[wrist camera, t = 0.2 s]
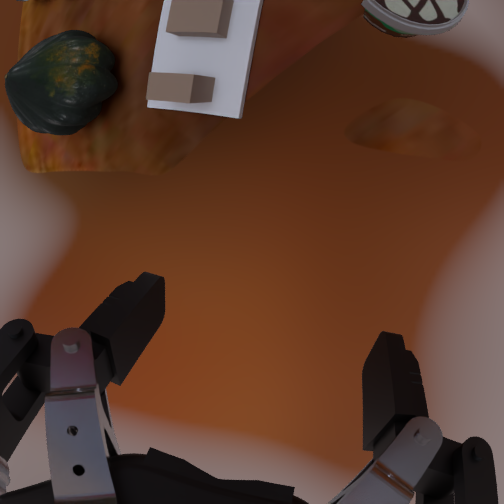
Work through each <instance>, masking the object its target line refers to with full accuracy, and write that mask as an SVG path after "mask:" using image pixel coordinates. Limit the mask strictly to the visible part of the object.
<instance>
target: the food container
mask: <svg viewBox="0 0 504 504" xmlns="http://www.w3.org/2000/svg"><path fill="white" fill-rule="evenodd" d="M468 3H469V0H364V1H363V2H362V3H361V5H362V6H363V7H365V12H364V18H365V19H366V20H367V21H368V22H369V23H370V24H371V25H372V26H374V27H375V28H377V29H378V30H380V31H381V32H384V33H386V34H389V35H392V36H394V37H405V38H407V37H412V36H416V35H435V34H440V33H444V32H446V31H449V30H450V29H452V28H453V27H455V26H456V25H457V24H458V22H460V21H461V19H462V17H463V16H464V14H465V12H466V10H467V7H468Z"/></svg>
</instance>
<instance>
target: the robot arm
mask: <svg viewBox="0 0 504 504" xmlns="http://www.w3.org/2000/svg"><path fill="white" fill-rule="evenodd" d="M164 315H165V280H164V277H162V276H158V275H154V274H151V273H148V272H143V273H142V274H141V275H140V276H139V277H138V278H137V279H136V280H135V281H134V282H131V281H128V282H126V283H124V284H122V285H120V286H118V287H116V288H115V290H114V291H113V292H112V293H111V294H110V295H109V297H107V298H106V299H105V300H104V301H103V303H102V304H100V305H99V306H98V307H97V308H96V310H95V311H94V312H93V313H92V314H91V315H90V316H89V317H88V318H87V319H86V320H85V321H84V323H83V324H82V325H81V326H80V327H79V328H67V329H64V330H62V331H60V332H58V333H57V334H56V335H55V336H51V335H44V334H39V333H35V331H34V328H33V326H32V324H31V323H30V322H29V321H27V320H25V319H15V320H12V321H9V322H8V323H6V324H5V325H4V326H3V327H2V328H1V329H0V504H308V503H307V502H306V501H304V500H302V499H300V498H298V497H296V496H294V495H293V493H294V488H295V487H291V486H285V485H280V484H274V483H269V482H264V481H259V480H222V479H217V478H215V477H213V476H211V475H209V474H208V473H206V472H204V471H202V470H200V469H199V468H197V467H195V466H194V465H192V464H190V463H189V462H187V461H185V460H184V459H181V458H178V457H175V456H172V455H169V454H167V453H164V452H161V451H159V450H156V449H154V448H151V447H150V449H149V451H148V453H147V455H146V454H122V455H121V453H120V449H119V446H118V443H117V440H116V437H115V433H114V428H113V424H112V419H111V414H110V409H109V403H108V398H107V392H106V387H107V385H108V384H109V382H110V381H111V382H113V383H115V384H118V385H121V384H122V382H123V381H124V379H125V378H126V376H127V375H128V373H129V372H130V370H131V369H132V367H133V366H134V364H135V362H136V361H137V360H138V358H139V356H140V355H141V353H142V352H143V351H144V349H145V347H146V346H147V344H148V343H149V342H150V340H151V339H152V337H153V336H154V334H155V333H156V331H157V329H158V328H159V327H160V325H161V323H162V321H163V318H164ZM16 373H17V375H18V376H17V377H16V378H15V380H14V381H13V382H12V384H11V385H10V386H9V388H8V389H7V390H6V392H5V393H4V394H3V396H2V393H3V390H4V389H5V387H6V386H7V384H8V383H9V382H10V380H11V379H12V378H13V377H14V375H15V374H16ZM362 389H363V450H366V451H373V459H372V460H371V461H370V462H369V463H368V464H367V465H366V466H365V467H364V468H363V469H362V470H361V471H360V472H359V474H358V475H357V476H356V477H355V478H354V479H353V480H352V481H351V482H350V483H349V484H348V485H347V486H346V487H345V488H344V489H343V490H342V491H341V492H340V493H339V494H338V495H337V496H335V497H334V498H333V499H332V500H331V501H330V502H328V504H409V503H410V501H411V500H412V498H413V496H414V492H413V491H415V492H416V504H498V494H497V484H496V475H495V467H494V460H493V453H492V450H491V447H490V446H489V444H488V443H487V442H486V441H485V440H484V439H482V438H480V437H470V438H468V439H467V440H466V441H465V442H464V443H462V444H461V443H458V442H456V441H453V440H450V439H447V438H445V437H443V436H442V432H441V429H440V427H439V426H438V425H437V424H436V423H435V422H434V421H433V420H431V419H429V416H428V410H427V404H426V398H425V393H424V388H423V385H422V378H421V375H420V369H419V364H418V361H417V359H416V358H415V356H414V355H413V353H412V352H411V351H409V350H406V349H405V345H404V340H403V337H402V335H400V334H395V333H389V332H385V331H382V332H381V333H380V334H379V336H378V338H377V340H376V342H375V344H374V346H373V348H372V349H371V351H370V353H369V355H368V357H367V359H366V361H365V363H364V367H363V371H362ZM44 403H45V424H46V438H47V449H48V458H49V466H50V474H51V480H47V481H44V482H41V483H38V484H35V485H32V486H29V487H25V488H22V489H18V490H15V491H11V492H7V493H6V486H8V485H9V483H10V477H9V467H8V464H7V462H8V460H9V458H10V457H11V455H12V453H13V452H14V450H15V448H16V446H17V445H18V443H19V442H20V440H21V439H22V437H23V435H24V434H25V432H26V430H27V429H28V427H29V426H30V424H31V422H32V421H33V419H34V418H35V416H36V415H37V413H38V411H39V410H40V409H41V407H42V406H43V404H44Z"/></svg>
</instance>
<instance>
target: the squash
mask: <svg viewBox="0 0 504 504" xmlns="http://www.w3.org/2000/svg"><path fill="white" fill-rule="evenodd" d="M114 63H115V57H114V55H113V53H112V52H111V51H110V50H109V48H108V47H107V46H106V45H104V44H103V43H101V42H99V41H97V40H96V39H95V37H94V36H92V35H91V34H89V33H87V32H84V31H79V30H69V31H65V32H62V33H60V34H57V35H54V36H51V37H49V38H47V39H45V40H43V41H41V42H40V43H38V44H37V45H35V46H34V47H33V48H32V49H30V50H29V51H28V52H27V53H26V54H25V55H24V56H23V57H22V58H21V60H20V61H19V62H18V63H17V64H15V65H14V66H13V67H12V68H11V69H10V70H9V72H8V73H7V74H6V75H5V88H6V92H7V95H8V98H9V101H10V103H11V106H12V108H13V110H14V112H15V114H16V116H17V117H18V118H19V119H20V121H21V122H22V123H23V124H24V125H26V126H27V127H28V128H30V129H31V130H32V131H35V132H39V133H50V134H54V135H71V134H74V133H76V132H77V131H78V130H80V129H81V128H83V127H84V126H85V125H87V123H88V122H90V121H92V120H93V119H94V118H96V117H97V116H98V115H99V113H100V111H101V107H102V101H103V100H105V99H107V98H109V97H110V96H111V95H113V94H114V93H115V91H116V89H117V87H118V83H117V80H116V78H115V76H114V75H113V74H112V73H111V72H110V71H111V70H112V68H113V66H114Z"/></svg>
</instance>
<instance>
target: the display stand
mask: <svg viewBox="0 0 504 504" xmlns="http://www.w3.org/2000/svg"><path fill="white" fill-rule="evenodd" d="M262 4H263V0H164V4H163V8H162V13H161V18H160V24H159V29H158V34H157V40H156V46H155V52H154V59H153V66H152V72H149V79H148V87H147V95H146V100H148V105H147V107H149V108H160V109H171V110H180V111H189V112H197V113H204V114H212V115H219V116H225V117H232V118H238V119H239V118H242V114H243V108H244V102H245V96H246V90H247V84H248V79H249V73H250V68H251V62H252V57H253V51H254V46H255V40H256V35H257V30H258V25H259V19H260V14H261V9H262Z"/></svg>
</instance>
